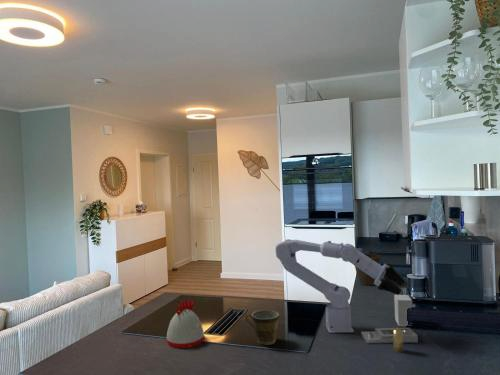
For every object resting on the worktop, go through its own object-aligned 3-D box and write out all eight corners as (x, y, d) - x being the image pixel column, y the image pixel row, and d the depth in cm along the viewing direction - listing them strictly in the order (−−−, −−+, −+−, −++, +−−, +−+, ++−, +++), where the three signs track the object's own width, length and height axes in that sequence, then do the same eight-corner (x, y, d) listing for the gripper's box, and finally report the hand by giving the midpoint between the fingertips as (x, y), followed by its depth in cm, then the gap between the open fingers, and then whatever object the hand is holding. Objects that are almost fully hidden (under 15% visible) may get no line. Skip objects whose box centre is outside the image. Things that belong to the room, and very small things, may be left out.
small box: (413, 327, 149) (412, 300, 149) (398, 326, 150) (397, 300, 150) (409, 320, 157) (408, 294, 157) (394, 319, 158) (394, 294, 158)
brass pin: (395, 352, 127) (394, 331, 127) (392, 348, 130) (391, 328, 130) (404, 352, 127) (403, 331, 127) (401, 348, 130) (400, 328, 130)
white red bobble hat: (211, 339, 144) (210, 299, 144) (181, 351, 134) (180, 308, 134) (188, 330, 153) (187, 293, 153) (159, 341, 143) (158, 301, 143)
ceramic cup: (283, 338, 142) (282, 311, 142) (274, 349, 133) (273, 320, 133) (252, 333, 148) (251, 307, 148) (240, 343, 139) (239, 316, 139)
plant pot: (349, 281, 221) (348, 254, 221) (374, 279, 223) (373, 252, 223) (359, 288, 206) (359, 258, 206) (386, 286, 208) (385, 257, 208)
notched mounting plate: (366, 343, 135) (366, 334, 135) (361, 334, 143) (360, 327, 143) (417, 342, 135) (417, 334, 135) (409, 334, 142) (409, 326, 142)
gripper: (369, 266, 137) (404, 289, 133) (378, 251, 149) (410, 271, 145) (360, 280, 140) (393, 303, 136) (369, 264, 152) (400, 284, 148)
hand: (401, 287), depth 140 cm, fingers open, 7 cm apart
